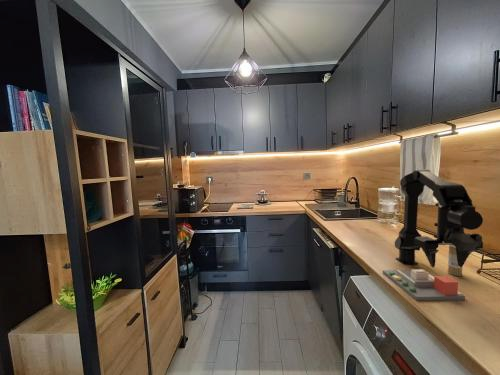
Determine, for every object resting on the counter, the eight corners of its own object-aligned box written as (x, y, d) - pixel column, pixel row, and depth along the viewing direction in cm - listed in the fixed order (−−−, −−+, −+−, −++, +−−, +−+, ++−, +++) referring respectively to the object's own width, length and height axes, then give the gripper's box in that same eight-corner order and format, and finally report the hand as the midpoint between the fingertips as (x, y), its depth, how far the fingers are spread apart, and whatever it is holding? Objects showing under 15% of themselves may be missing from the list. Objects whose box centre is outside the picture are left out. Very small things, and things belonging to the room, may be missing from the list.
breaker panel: (382, 273, 97) (382, 265, 97) (421, 272, 97) (421, 264, 96) (416, 300, 77) (416, 291, 77) (464, 299, 77) (465, 290, 76)
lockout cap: (433, 288, 82) (434, 276, 81) (446, 287, 82) (447, 276, 81) (444, 295, 77) (444, 282, 77) (457, 294, 77) (458, 282, 77)
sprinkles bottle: (464, 275, 93) (466, 242, 92) (458, 277, 91) (460, 244, 90) (451, 270, 97) (452, 239, 96) (444, 272, 95) (446, 241, 94)
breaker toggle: (410, 279, 88) (410, 269, 88) (422, 279, 88) (422, 269, 88) (416, 283, 85) (416, 272, 85) (428, 283, 85) (428, 272, 85)
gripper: (439, 228, 70) (437, 278, 71) (502, 227, 69) (499, 277, 71) (413, 220, 81) (412, 263, 82) (468, 219, 80) (466, 262, 82)
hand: (446, 266), depth 79 cm, fingers open, 9 cm apart
